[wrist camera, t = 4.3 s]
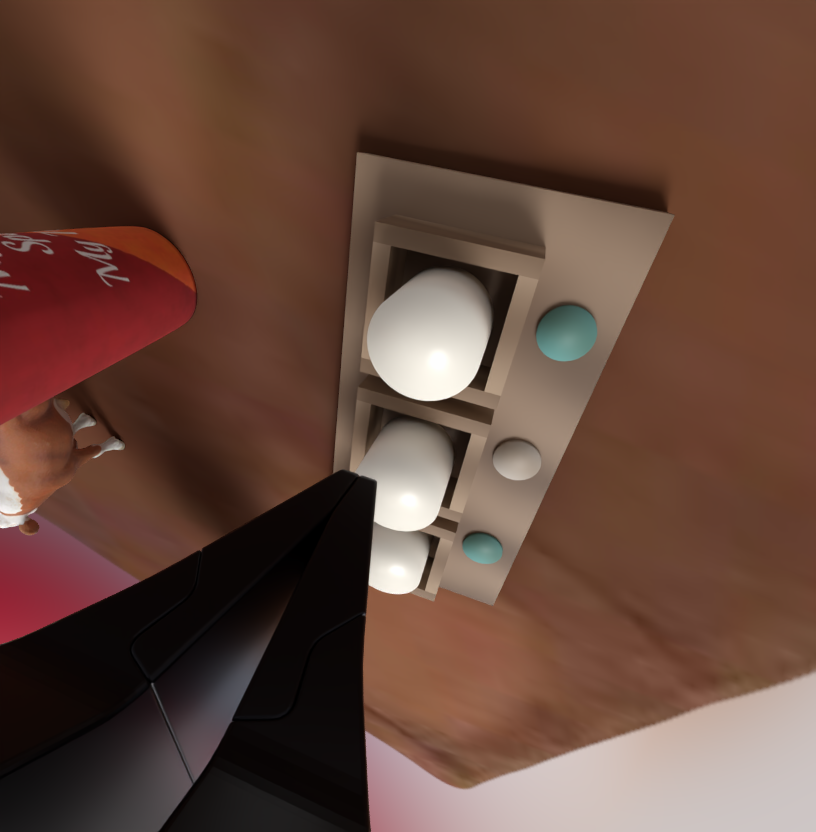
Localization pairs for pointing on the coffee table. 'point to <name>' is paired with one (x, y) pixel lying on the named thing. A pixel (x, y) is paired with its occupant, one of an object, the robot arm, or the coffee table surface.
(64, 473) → the bull figurine
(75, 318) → the paper cup
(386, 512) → the button mid
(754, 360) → the coffee table surface
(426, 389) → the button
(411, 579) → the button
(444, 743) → the coffee table surface
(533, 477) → the board
